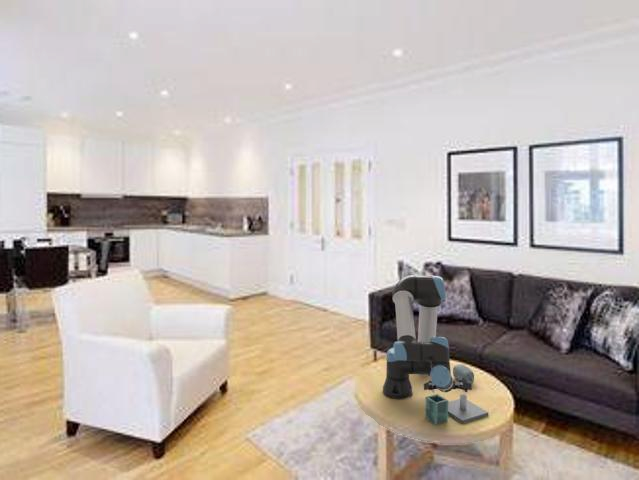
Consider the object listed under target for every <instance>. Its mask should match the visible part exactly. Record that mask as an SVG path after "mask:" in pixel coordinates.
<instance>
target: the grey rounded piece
mask: <svg viewBox="0 0 639 480" xmlns="http://www.w3.org/2000/svg"><path fill="white" fill-rule="evenodd" d="M452 375H453V377H454V378H455V379H456V381H459V380H461V381H463V382H466V383H470V384H471V385H472V384H473V383H474V381H475V373H474V372H473V370H472V369H471V368H470V367H468V366H466V365H464V364H459V363H458V364H455V365H454V366H453V368H452Z"/></svg>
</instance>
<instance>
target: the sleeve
mask: <svg viewBox="0 0 639 480" xmlns="http://www.w3.org/2000/svg"><path fill="white" fill-rule="evenodd" d="M448 402H449V400H448V399H447V398H446V397H444V396H442V395H441V394H438V393H437V394H432V395H428V396H425V412H424V413H425V415H424V416H425V418H426V419H427V420H428V421H429V422H431V423H432V424H434V425H435V426H436V425H440V424H443V423H447V422H448V421H449V419H448V417H449V414H448Z"/></svg>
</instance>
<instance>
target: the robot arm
mask: <svg viewBox="0 0 639 480" xmlns="http://www.w3.org/2000/svg"><path fill="white" fill-rule="evenodd" d="M413 301H416V304H417V305H418V306H419V311H418V312H419V314H418V331H417V332H418V333H417V336H416V329H415V321H414V320H415V319H414V311H413V310H414V309H413ZM443 301H446V287H445V283H444V279H443V277H441V276H437V275H413V274H412V275H407V276H404V277H402V278H401V279H400V280H399V281H398V282H396V284H395V286H394V287H393V290H392V302H393V303H394V305H395V319H396V320H395V321H396V333H397V336H396V337H397V341H394V343H393V347H391V348H390V349H388V350H387V352H386V359H385V360H386V373H385V374H386V377H385V381H384V384H383V386H382V393H383V394H384V396H386V397H388V398H391V399H396V400H404V399H408V398H411V396H413V387H412V383H411V380H410V375H420V376H421V375H422V376H423V375H424V376H430V380H428V381H426V382H425V383H423V390H424V391H427V390H428V391H431V392H432V393H435V391H436V390H439V391H441V392H442V393H449V392H451V391H452V390H457V389H458V390H462V391H463V393H465V394H466V393H467V392H468V390H469V391H472V390H473V389H472V388H473V387H472V384H470V383H466V382H463V381H461V380H459V381H458V380H454V379H453V376H452V372H451V371H452V369H451V363H450V362H451V361H450V360H451V359H450V347H449V341H448V339H447V338H446V337H443V336H437V322H438V308H439V307H440V306H441V305H442V302H443ZM416 340H418V342H416ZM457 381H458V382H457Z"/></svg>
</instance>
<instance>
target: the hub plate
mask: <svg viewBox="0 0 639 480" xmlns="http://www.w3.org/2000/svg"><path fill="white" fill-rule="evenodd" d="M467 398H468V396H467V394H466V393H464V392H463V393H460V395H459V398H457V399H454V400H449V401H448V416H450V417H451V418H453V419H454V420H456V421H457V422H459V423H461V424H465V423H469V422H471V421H476V420H478V419H481V418H484V417H488V416H489V412H488V411H487V410H485V409H484V408H482V407H481V406H479V405H477V404H475V403H473V402H471V401H470V400H468V399H467Z"/></svg>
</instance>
